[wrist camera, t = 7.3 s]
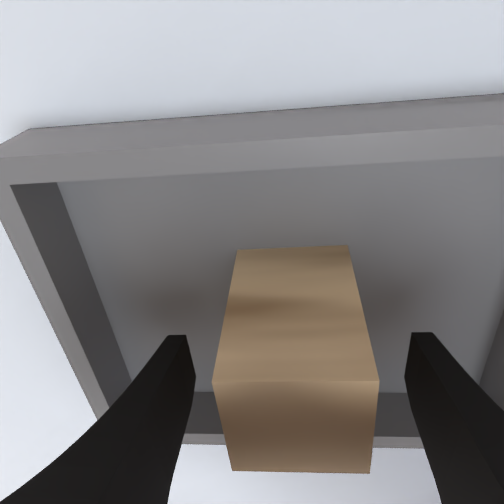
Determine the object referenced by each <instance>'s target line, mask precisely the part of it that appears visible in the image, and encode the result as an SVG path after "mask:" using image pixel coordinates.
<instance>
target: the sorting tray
mask: <svg viewBox="0 0 504 504" xmlns="http://www.w3.org/2000/svg"><path fill="white" fill-rule="evenodd" d="M0 220H1V222H2V224H3V227H4V229H5V231H6V233H7V235H8V237H9V239H10V241H11V243H12V245H13V247H14V249H15V251H16V253H17V255H18V257H19V260H20V262H21V264H22V266H23V268H24V270H25V272H26V274H27V276H28V278H29V280H30V282H31V284H32V286H33V288H34V290H35V292H36V295H37V297H38V299H39V301H40V303H41V305H42V307H43V309H44V311H45V313H46V315H47V317H48V319H49V321H50V323H51V325H52V328H53V330H54V332H55V334H56V336H57V338H58V340H59V342H60V344H61V346H62V348H63V350H64V352H65V354H66V356H67V358H68V361H69V363H70V365H71V367H72V369H73V371H74V373H75V375H76V377H77V379H78V381H79V383H80V385H81V387H82V389H83V391H84V393H85V396H86V398H87V400H88V402H89V404H90V406H91V408H92V410H93V412H94V414H95V416H96V418H97V420H98V419H99V418H100V417H101V416H102V415H103V414H104V413H105V412H106V411H107V410H108V409H109V408H110V407H111V405H112V404H113V403H114V402H115V401H116V400H117V399H118V397H119V396H120V395H121V394H122V393H123V392H124V391H125V389H126V388H127V387H128V386H129V385H130V383H131V382H132V381H133V380H134V378H135V377H136V376H137V375H138V373H139V372H140V371H141V370H142V369H143V367H144V366H145V365H146V363H147V362H148V361H149V359H150V358H151V357H152V355H153V354H154V353H155V351H156V350H157V349H158V347H159V346H160V345H161V343H162V342H163V341H164V339H165V338H166V337H167V336H168V335H186V336H187V341H188V345H189V349H190V353H191V357H192V361H193V365H194V369H195V373H196V382H195V389H194V396H193V402H192V407H191V411H190V415H189V419H188V422H187V426H186V430H185V433H184V437H183V441H182V444H209V445H226V442H225V437H224V433H223V429H222V424H221V420H220V416H219V412H218V407H217V403H216V399H215V394H214V390H213V386H212V378H213V372H214V367H215V362H216V357H217V352H218V347H219V342H220V336H221V331H222V326H223V321H224V316H225V311H226V306H227V300H228V295H229V290H230V285H231V280H232V275H233V269H234V264H235V259H236V254H237V250H245V249H267V248H290V247H312V246H335V245H348V249H349V253H350V257H351V262H352V266H353V270H354V274H355V279H356V283H357V287H358V291H359V296H360V300H361V304H362V308H363V313H364V317H365V321H366V325H367V330H368V334H369V338H370V342H371V347H372V351H373V355H374V359H375V364H376V368H377V372H378V376H379V381H380V382H379V391H378V401H377V410H376V419H375V429H374V438H373V447H372V448H424V446H423V443H422V440H421V437H420V435H419V432H418V429H417V426H416V423H415V420H414V417H413V414H412V411H411V407H410V403H409V398H408V394H407V389H406V384H405V379H404V374H405V368H406V362H407V356H408V350H409V344H410V338H411V332H433V333H434V334H435V335H436V337H437V338H438V339H439V340H440V341H441V343H442V344H443V345H444V346H445V347H446V349H447V350H448V351H449V352H450V353H451V355H452V356H453V357H454V358H455V359H456V360H457V362H458V363H459V364H460V365H461V366H462V367H463V368H464V370H465V371H466V372H467V373H468V374H469V375H470V376H471V377H472V378H473V379H474V381H475V382H476V383H477V384H478V385H479V386H480V387H481V388H482V389H483V390H484V391H485V392H486V393H487V394H488V395H489V396H490V397H491V398H492V400H493V401H494V402H495V403H496V404H497V405H498V406H499V407H501V408H502V409H503V410H504V94H492V95H478V96H465V97H452V98H438V99H425V100H411V101H398V102H384V103H371V104H358V105H344V106H331V107H317V108H304V109H290V110H277V111H264V112H250V113H237V114H223V115H210V116H196V117H183V118H170V119H156V120H143V121H129V122H116V123H102V124H89V125H76V126H62V127H49V128H35V129H28V130H26V131H24V132H22V133H20V134H19V135H17V136H15V137H13V138H11V139H9V140H7V141H5V142H4V143H2V144H0Z"/></svg>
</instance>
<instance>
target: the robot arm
mask: <svg viewBox="0 0 504 504" xmlns="http://www.w3.org/2000/svg"><path fill="white" fill-rule="evenodd" d="M404 379H405V384H406V389H407V394H408V398H409V403H410V407H411V411H412V414H413V417H414V420H415V423H416V426H417V429H418V432H419V435H420V437H421V440H422V443H423V446H424V449H425V452H426V455H427V458H428V461H429V464H430V467H431V470H432V472H433V475H434V478H435V481H436V485H437V488H438V491H439V495H440V498H441V503H442V504H504V410H503V409H502V408H501V407H499V406H498V405H497V404H496V403H495V402H494V401H493V400H492V398H491V397H490V396H489V395H488V394H487V393H486V392H485V391H484V390H483V389H482V388H481V387H480V386H479V385H478V384H477V383H476V382H475V381H474V379H473V378H472V377H471V376H470V375H469V374H468V373H467V372H466V371H465V370H464V368H463V367H462V366H461V365H460V364H459V363H458V362H457V360H456V359H455V358H454V357H453V356H452V355H451V353H450V352H449V351H448V350H447V349H446V347H445V346H444V345H443V344H442V343H441V341H440V340H439V339H438V338H437V337H436V335H435V334H434V333H433V332H411V338H410V344H409V350H408V356H407V362H406V368H405V374H404ZM195 382H196V373H195V369H194V365H193V361H192V357H191V353H190V349H189V345H188V341H187V336H186V335H168V336H167V337H166V338H165V339H164V341H163V342H162V343H161V345H160V346H159V347H158V349H157V350H156V351H155V353H154V354H153V355H152V357H151V358H150V359H149V361H148V362H147V363H146V365H145V366H144V367H143V369H142V370H141V371H140V372H139V373H138V375H137V376H136V377H135V378H134V380H133V381H132V382H131V383H130V385H129V386H128V387H127V388H126V389H125V391H124V392H123V393H122V394H121V395H120V396H119V397H118V399H117V400H116V401H115V402H114V403H113V404H112V405H111V407H110V408H109V409H108V410H107V411H106V412H105V413H104V414H103V415H102V416H101V417H100V418H99V419H98V420H97V421H96V422H95V423H94V424H93V425H92V426H91V427H90V428H89V429H88V430H87V431H86V432H85V433H84V434H83V435H82V436H81V437H80V438H79V439H78V440H77V441H76V442H75V443H74V444H72V445H71V446H70V447H69V448H68V449H67V450H66V451H65V452H64V453H62V454H61V455H60V456H59V457H58V458H57V459H56V460H54V461H53V462H52V463H51V464H50V465H48V466H47V467H46V468H44V469H43V470H42V471H41V472H39V473H38V474H37V475H36V476H34V477H33V478H32V479H31V480H29V481H28V482H27V483H25V484H24V485H23V486H21V487H20V488H19V489H17V490H16V491H15V492H13V493H12V494H11V495H9V496H8V497H6V498H5V499H3V500H2V501H0V504H167V502H168V497H169V491H170V486H171V482H172V478H173V473H174V470H175V466H176V462H177V459H178V455H179V451H180V448H181V444H182V441H183V437H184V433H185V430H186V426H187V422H188V419H189V415H190V411H191V407H192V402H193V396H194V389H195Z"/></svg>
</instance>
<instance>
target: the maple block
mask: <svg viewBox="0 0 504 504" xmlns="http://www.w3.org/2000/svg"><path fill="white" fill-rule="evenodd" d="M379 382H380V381H379V376H378V372H377V368H376V364H375V359H374V355H373V351H372V347H371V342H370V338H369V334H368V330H367V325H366V321H365V317H364V313H363V308H362V304H361V300H360V296H359V291H358V287H357V283H356V279H355V274H354V270H353V266H352V262H351V257H350V253H349V249H348V245H335V246H312V247H290V248H267V249H245V250H237V254H236V259H235V264H234V269H233V275H232V280H231V285H230V290H229V295H228V300H227V306H226V311H225V316H224V321H223V326H222V331H221V336H220V342H219V347H218V352H217V357H216V362H215V367H214V372H213V378H212V386H213V390H214V394H215V399H216V403H217V407H218V412H219V416H220V420H221V424H222V429H223V433H224V437H225V442H226V446H227V450H228V455H229V459H230V463H231V468H232V471H264V472H313V473H362V474H370V466H371V457H372V447H373V438H374V429H375V419H376V410H377V401H378V391H379Z"/></svg>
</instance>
